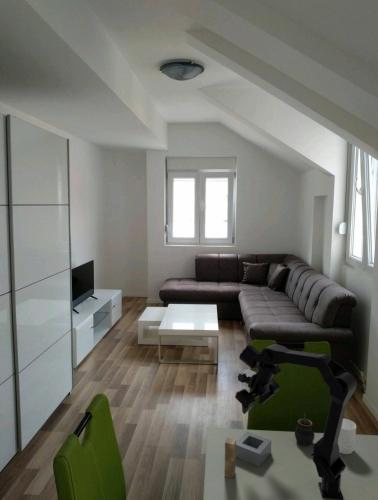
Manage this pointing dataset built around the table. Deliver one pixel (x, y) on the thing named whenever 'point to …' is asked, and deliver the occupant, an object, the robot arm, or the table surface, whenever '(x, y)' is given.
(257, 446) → the grey square socket holder
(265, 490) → the table surface
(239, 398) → the robot arm
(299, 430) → the mate gourd
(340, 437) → the white cup
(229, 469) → the tall wooden pillar block
